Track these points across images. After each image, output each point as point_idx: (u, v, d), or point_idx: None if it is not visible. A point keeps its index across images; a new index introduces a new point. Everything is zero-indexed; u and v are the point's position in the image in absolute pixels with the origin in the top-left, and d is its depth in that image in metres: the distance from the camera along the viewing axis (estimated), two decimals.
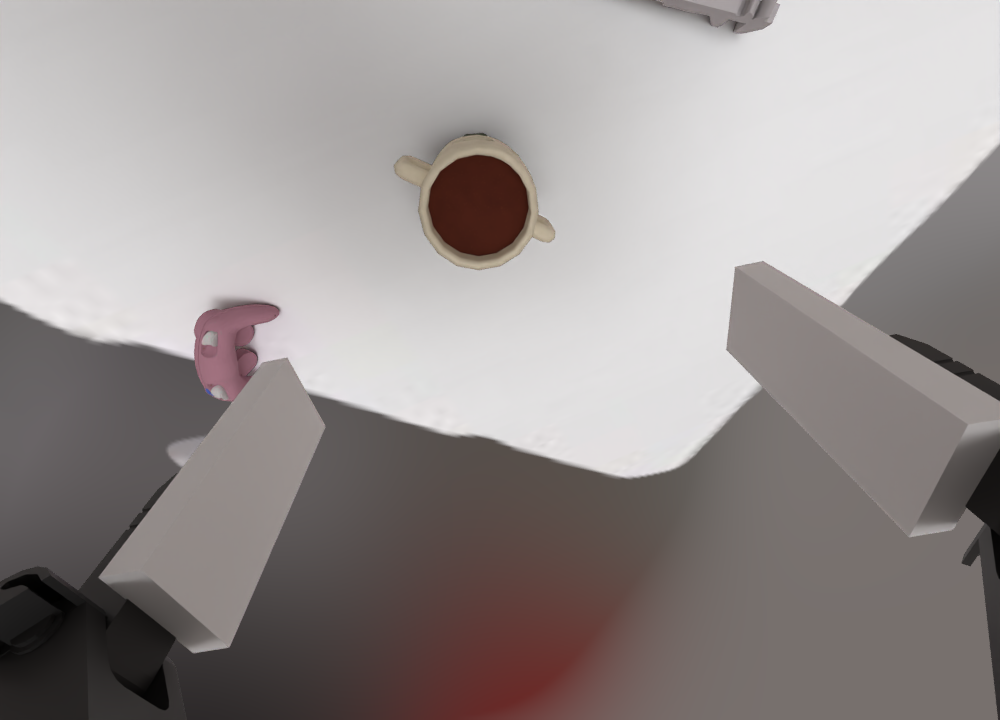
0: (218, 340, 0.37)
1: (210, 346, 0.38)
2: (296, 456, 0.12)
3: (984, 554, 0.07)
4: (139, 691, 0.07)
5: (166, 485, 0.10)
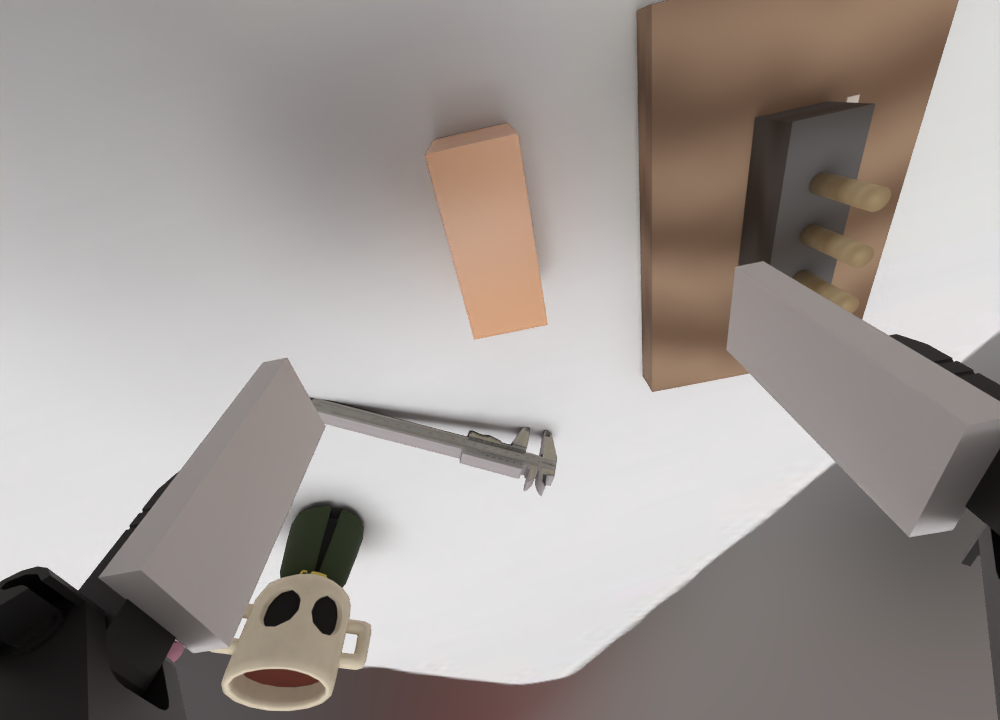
0: None
1: None
2: (296, 456, 0.12)
3: (984, 554, 0.07)
4: (139, 690, 0.07)
5: (166, 486, 0.10)
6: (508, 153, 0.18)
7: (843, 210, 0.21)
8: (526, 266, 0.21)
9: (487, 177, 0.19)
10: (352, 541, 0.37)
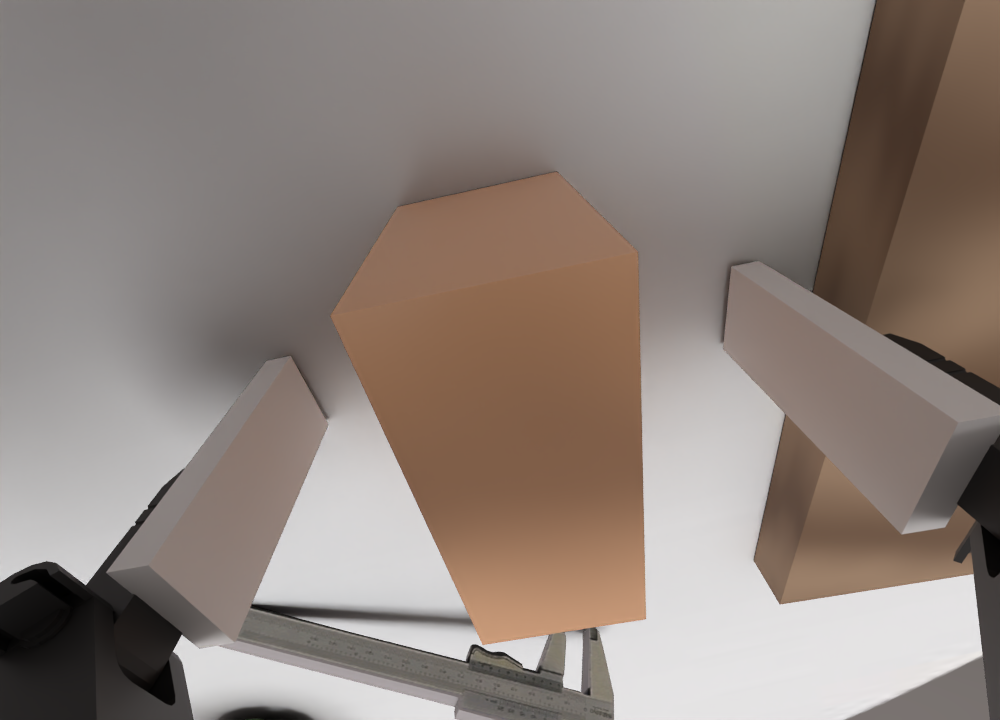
0: None
1: None
2: (300, 454, 0.12)
3: (975, 551, 0.07)
4: (146, 685, 0.07)
5: (172, 482, 0.10)
6: (599, 307, 0.06)
7: None
8: (614, 538, 0.08)
9: (529, 368, 0.06)
10: None
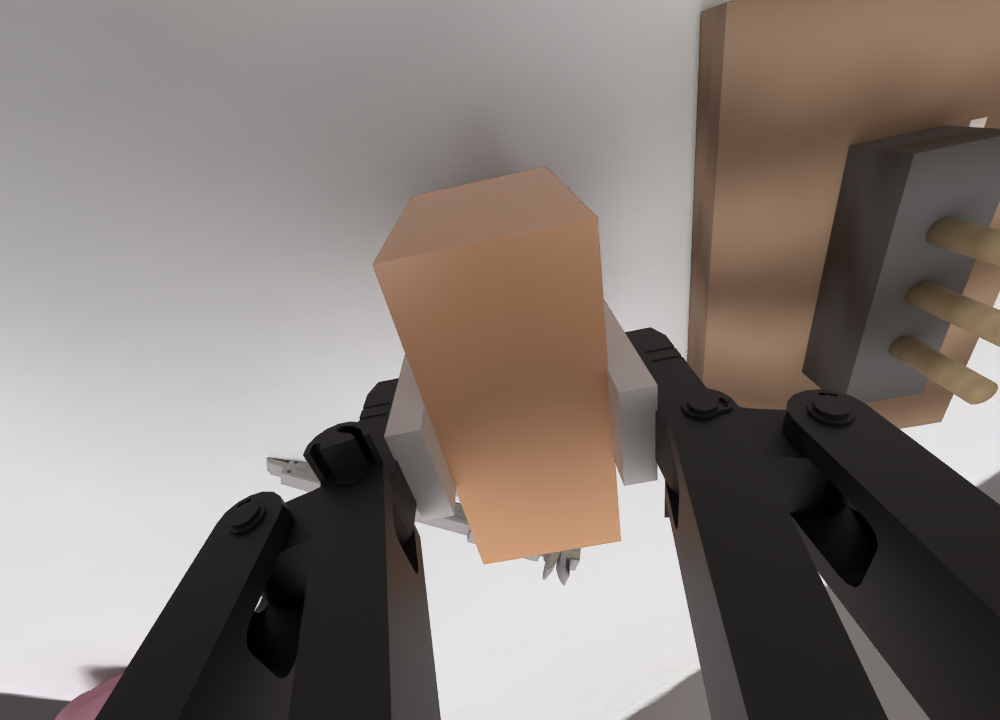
0: None
1: None
2: None
3: (668, 508, 0.09)
4: (408, 535, 0.09)
5: (374, 391, 0.11)
6: (570, 259, 0.08)
7: (967, 264, 0.17)
8: (590, 460, 0.10)
9: (519, 308, 0.08)
10: None
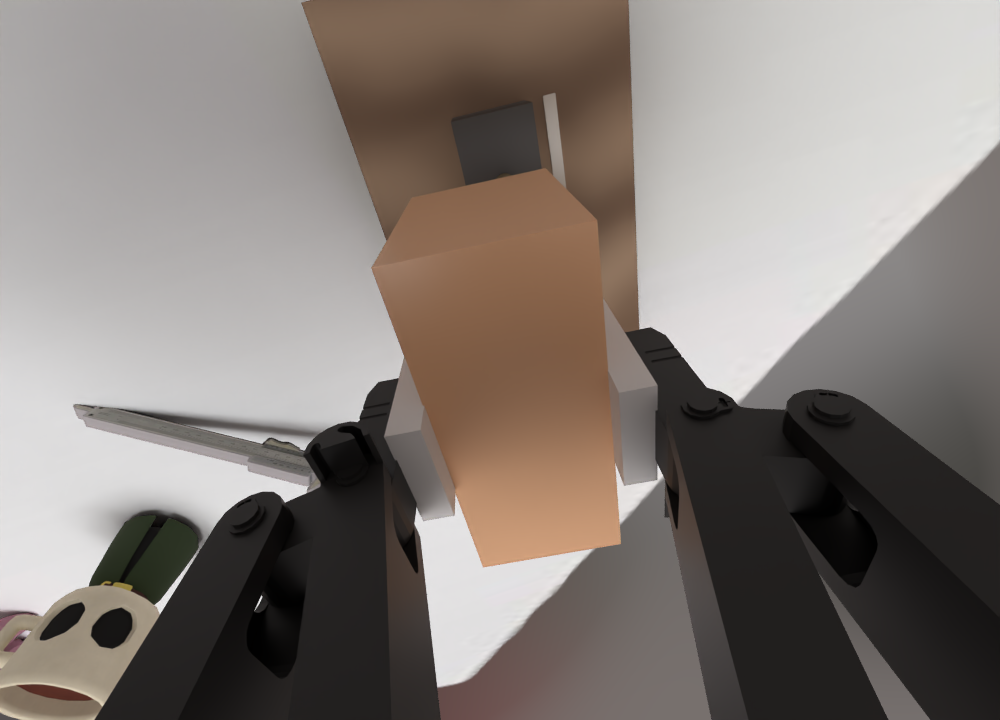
0: None
1: None
2: None
3: (668, 508, 0.09)
4: (408, 535, 0.09)
5: (374, 391, 0.11)
6: (570, 262, 0.08)
7: None
8: (590, 463, 0.10)
9: (519, 312, 0.08)
10: (175, 550, 0.36)
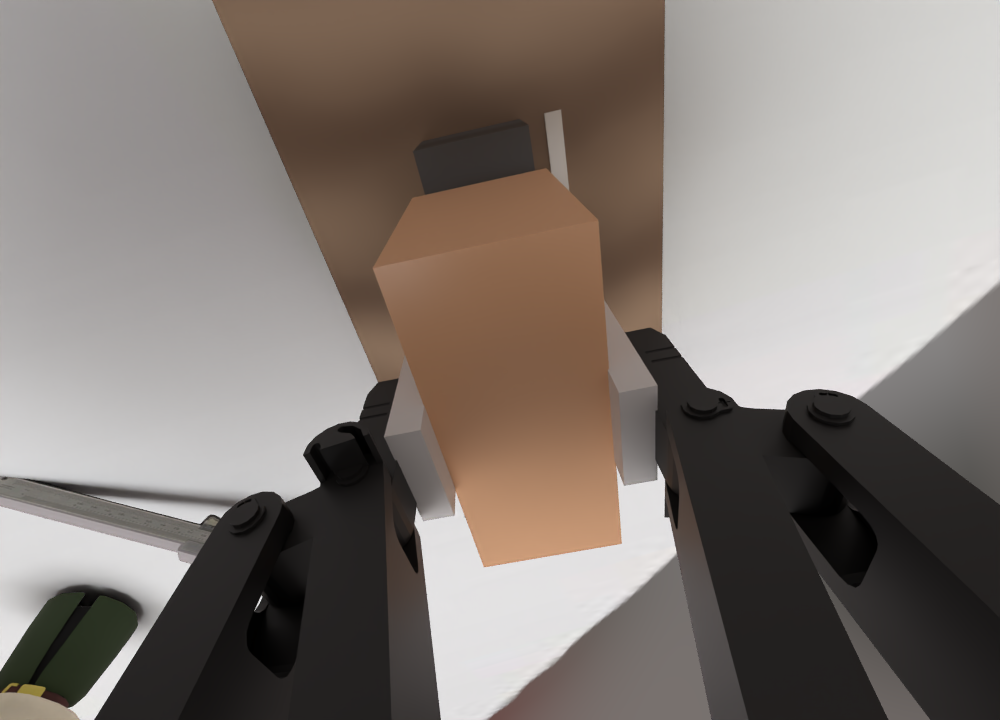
0: None
1: None
2: None
3: (668, 508, 0.09)
4: (408, 534, 0.09)
5: (374, 391, 0.11)
6: (571, 262, 0.08)
7: None
8: (591, 463, 0.10)
9: (520, 311, 0.08)
10: (106, 635, 0.31)
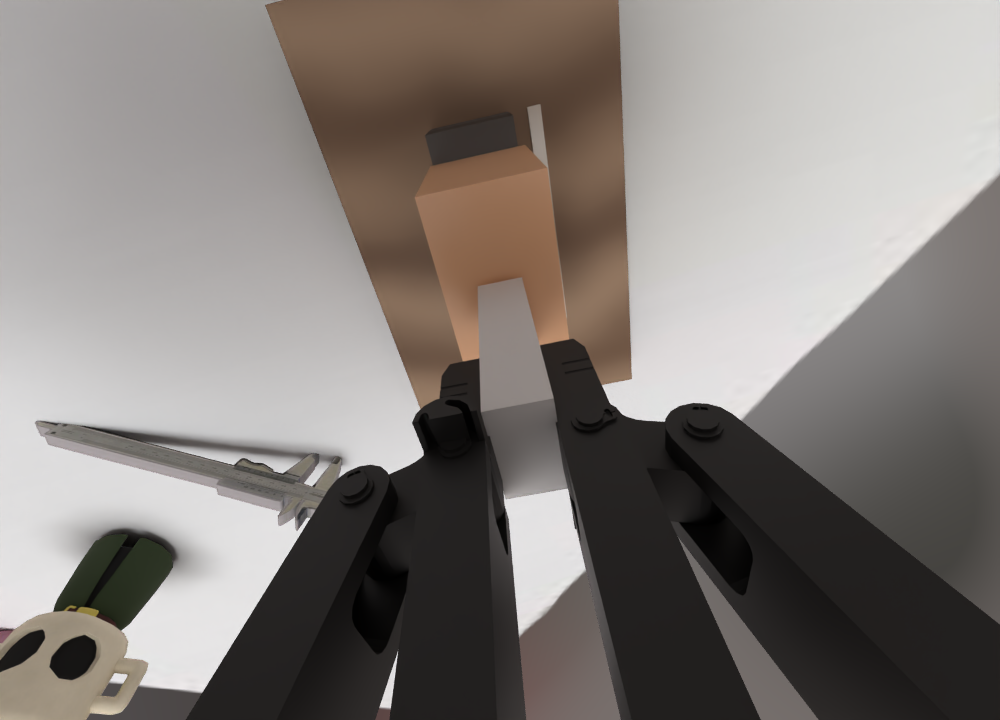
0: None
1: None
2: None
3: (575, 521, 0.09)
4: (501, 510, 0.09)
5: (448, 373, 0.11)
6: (533, 195, 0.13)
7: None
8: (553, 339, 0.16)
9: (502, 227, 0.13)
10: (147, 571, 0.35)
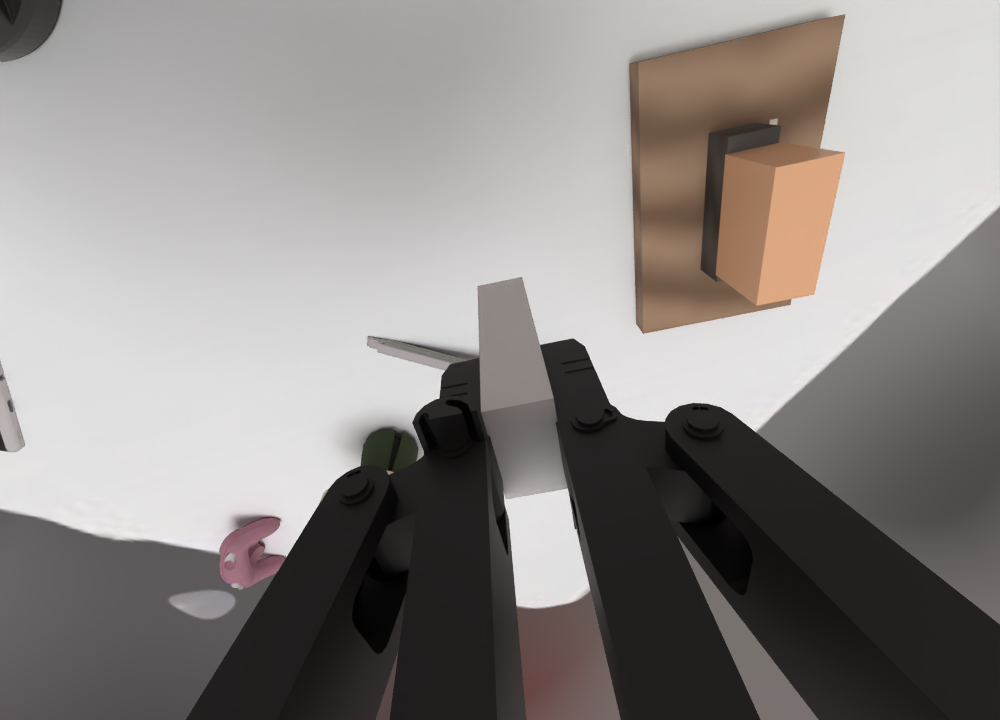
0: (236, 558, 0.52)
1: (230, 560, 0.53)
2: None
3: (575, 521, 0.09)
4: (502, 510, 0.09)
5: (448, 372, 0.11)
6: (833, 166, 0.26)
7: None
8: (815, 249, 0.28)
9: (812, 183, 0.26)
10: (411, 456, 0.48)
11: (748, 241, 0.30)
